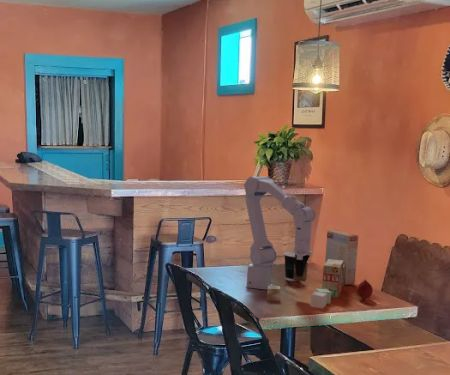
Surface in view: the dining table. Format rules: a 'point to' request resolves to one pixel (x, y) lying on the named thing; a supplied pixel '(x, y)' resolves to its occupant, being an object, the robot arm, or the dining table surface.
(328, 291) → the sage block
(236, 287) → the dining table surface
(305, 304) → the dining table surface
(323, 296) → the white block
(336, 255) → the cracker box
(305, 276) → the walnut bar
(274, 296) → the maple block
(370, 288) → the onion
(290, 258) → the dixie cup
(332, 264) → the stack of blocks
